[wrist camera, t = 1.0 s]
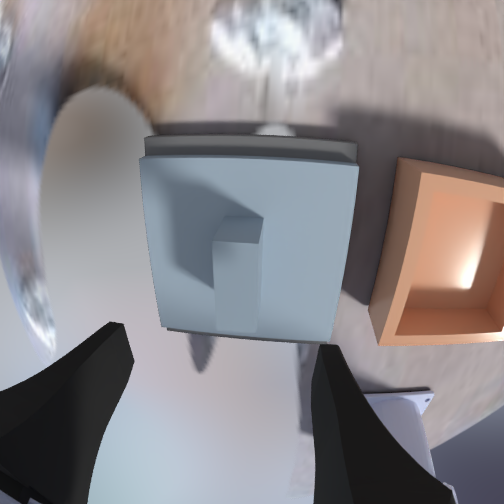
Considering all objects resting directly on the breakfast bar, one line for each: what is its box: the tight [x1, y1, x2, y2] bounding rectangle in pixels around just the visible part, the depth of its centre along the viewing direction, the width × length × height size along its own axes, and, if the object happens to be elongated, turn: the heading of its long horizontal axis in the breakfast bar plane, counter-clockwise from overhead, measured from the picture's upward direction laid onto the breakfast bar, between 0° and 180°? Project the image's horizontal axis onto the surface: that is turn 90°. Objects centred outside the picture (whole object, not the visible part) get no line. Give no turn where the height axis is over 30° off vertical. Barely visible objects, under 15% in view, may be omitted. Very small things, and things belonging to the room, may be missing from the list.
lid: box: [139, 155, 359, 342], centre depth 17 cm, size 11×11×4 cm
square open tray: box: [368, 157, 504, 346], centre depth 16 cm, size 10×10×4 cm
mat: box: [144, 134, 358, 344], centre depth 19 cm, size 13×11×1 cm
